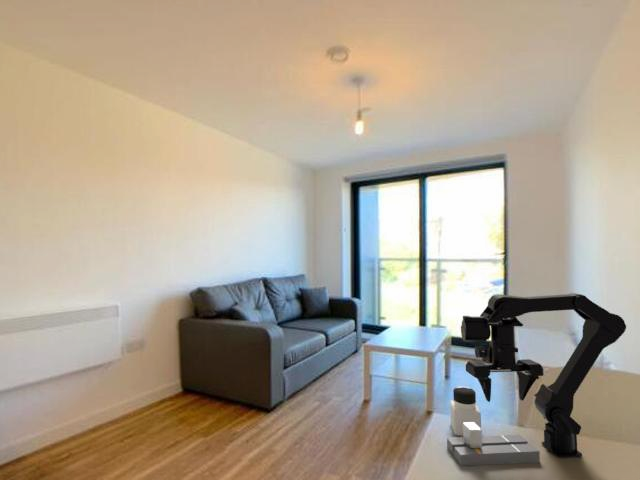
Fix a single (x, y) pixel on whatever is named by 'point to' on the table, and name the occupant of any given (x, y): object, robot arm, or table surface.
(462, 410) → the medicine bottle
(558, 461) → the table surface
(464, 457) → the slider console
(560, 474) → the table surface
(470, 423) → the fader tab
